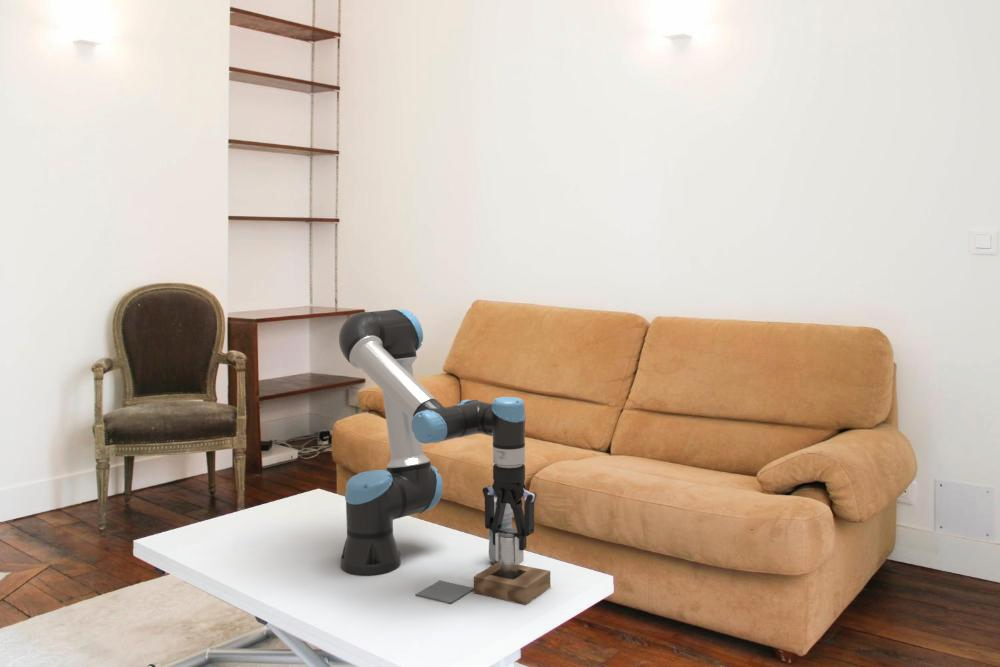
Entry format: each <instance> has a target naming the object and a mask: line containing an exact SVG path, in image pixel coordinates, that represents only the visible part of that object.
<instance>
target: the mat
mask: <svg viewBox="0 0 1000 667" xmlns="http://www.w3.org/2000/svg"><path fill="white" fill-rule="evenodd" d="M471 592H474V586H467V585H464V584H460V583H459V584H458V583H454V582H449V581H446V580H445V581H444V580H437V581H435V582H434V583H432V584H431V585H429V586H427V587H426V588H423V589H422V590H420V591H419V592H417V593H415V596H416V597H419V598H423V599H427V600H431V601H436V602H441V603H446V604H449V605H452V604H454V603H456V602H457V601H459V600H460V599H462V598H464V597H465V596H466V595H468V594H470V593H471Z"/></svg>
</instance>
